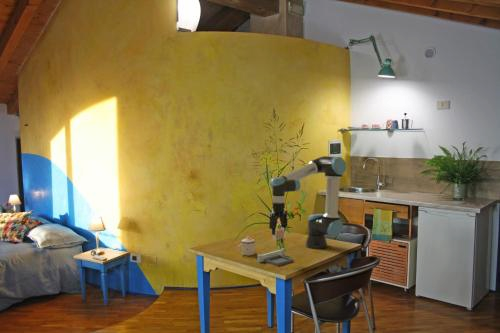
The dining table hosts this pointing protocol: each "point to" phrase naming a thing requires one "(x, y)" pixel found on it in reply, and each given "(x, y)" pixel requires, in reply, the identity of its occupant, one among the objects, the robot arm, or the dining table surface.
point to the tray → (278, 260)
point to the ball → (279, 234)
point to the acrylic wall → (270, 255)
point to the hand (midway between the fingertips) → (278, 238)
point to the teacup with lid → (247, 246)
